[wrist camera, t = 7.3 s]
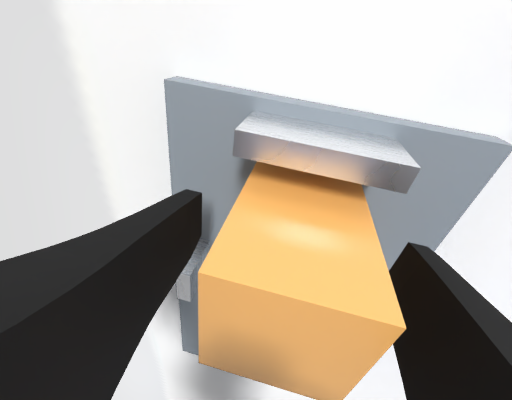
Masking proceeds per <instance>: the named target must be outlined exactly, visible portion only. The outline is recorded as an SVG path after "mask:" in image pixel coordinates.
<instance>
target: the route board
mask: <svg viewBox="0 0 512 400" xmlns="http://www.w3.org/2000/svg"><path fill="white" fill-rule="evenodd" d="M164 86H165V101H166V115H167V130H168V144H169V159H170V173H171V188H172V195H174V194H176V193H178V192H181V191H183V190H185V189H189V190H193V191H197V192H201V193H202V235H201V237H200V238H201V239H205V240H209V241H210V244H209V251H210V249H211V247H212V245H213V243H214V241H215V239H216V237H217V236H218V234H219V232H220V230H221V228H222V226H223V224H224V222H225V221H226V219H227V217H228V215H229V213H230V211H231V209H232V207H233V205H234V204H235V202H236V200H237V198H238V196H239V194H240V192H241V190H242V189H243V187H244V185H245V183H246V181H247V179H248V177H249V175H250V173H251V172H252V170H253V168H254V166H255V164H256V162H257V161H253V160H249V159H244V158H240V157H235V156H233V144H234V133H235V129H236V128H237V127H238V126H239V125H240V124H241V123H242V122H243V121H244V120H245V119H246V118H247V117H248V116H249V115H250V114H251V113H252V112H253V111H254V110H257V111H262V112H267V113H272V114H277V115H282V116H287V117H292V118H297V119H302V120H308V121H313V122H318V123H323V124H328V125H333V126H338V127H343V128H348V129H353V130H358V131H363V132H368V133H373V134H379V135H384V136H389V137H394V138H396V139H397V140H398V141H399V143H400V144H401V145H402V146H403V147H404V148H405V150H406V151H407V152H408V153H409V154H410V156H411V157H412V158H413V159H414V160H415V162H416V163H417V164H418V165H419V166H420V167H421V169H420V171H419V173H418V174H417V176H416V178H415V180H414V181H413V183H412V185H411V187H410V188H409V190H408V192H407V194H403V193H399V192H394V191H390V190H385V189H381V188H376V187H372V186H367V185H362V184H361V185H362V188H363V191H364V194H365V197H366V201H367V204H368V207H369V210H370V213H371V217H372V220H373V223H374V226H375V229H376V233H377V236H378V239H379V242H380V245H381V249H382V252H383V255H384V258H385V261H386V265H387V268H388V271H389V270H390V269H391V267H392V266H393V264H394V263H395V261H396V260H397V258H398V257H399V255H400V254H401V252H402V251H403V249H404V248H405V246H406V245H407V243H408V242H410V243H414V244H419V245H423V246H427V247H429V248H430V249H431V250H432V251H435V250H436V248H437V247H438V246H439V245H440V243H441V242H442V241H443V239H444V238H445V237H446V236H447V234H448V233H449V232H450V230H451V229H452V228H453V226H454V225H455V224H456V223H457V221H458V220H459V219H460V217H461V216H462V215H463V214H464V212H465V211H466V210H467V208H468V207H469V206H470V204H471V203H472V202H473V201H474V199H475V198H476V197H477V195H478V194H479V193H480V192H481V190H482V189H483V188H484V186H485V185H486V184H487V183H488V181H489V180H490V179H491V177H492V176H493V175H494V173H495V172H496V171H497V170H498V168H499V167H500V166H501V164H502V163H503V162H504V161H505V159H506V158H507V157H508V155H509V154H510V153H511V151H512V145H511V144H509V143H507V142H505V141H503V140H501V139H499V138H498V137H494V136H489V135H484V134H479V133H473V132H468V131H463V130H457V129H452V128H447V127H442V126H436V125H431V124H426V123H420V122H415V121H410V120H405V119H399V118H394V117H389V116H383V115H378V114H373V113H367V112H362V111H357V110H352V109H346V108H341V107H336V106H330V105H325V104H320V103H315V102H309V101H304V100H299V99H293V98H288V97H283V96H278V95H272V94H267V93H262V92H256V91H251V90H246V89H241V88H235V87H230V86H225V85H219V84H214V83H209V82H203V81H198V80H193V79H188V78H182V77H172V78H168V79H164ZM179 304H180V318H181V333H182V347H183V351H186V352H189V353H192V354H196V355H199V338H198V288H197V290H196V292H195V294H194V296H193V298H192V300H191V302H188V301H185V300H181V299H179Z"/></svg>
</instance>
